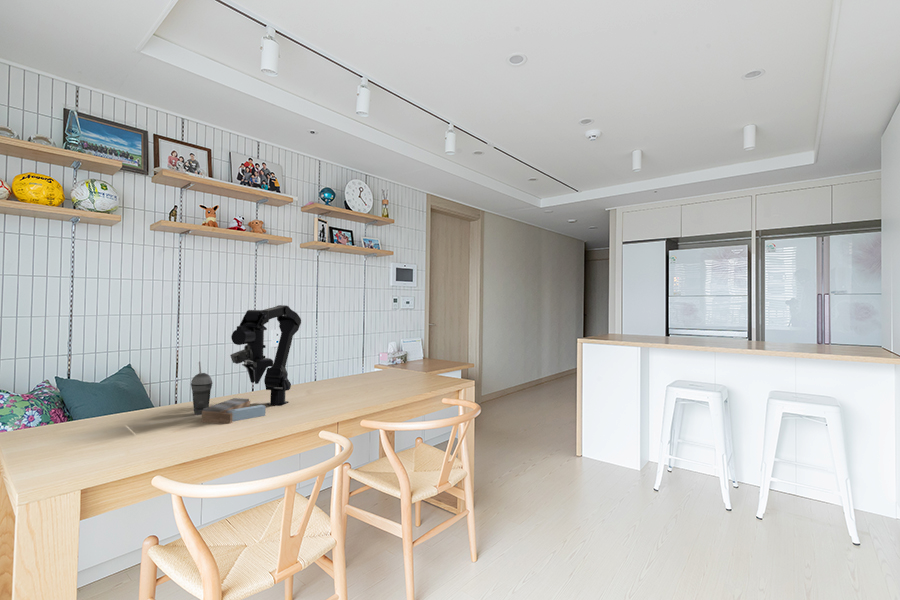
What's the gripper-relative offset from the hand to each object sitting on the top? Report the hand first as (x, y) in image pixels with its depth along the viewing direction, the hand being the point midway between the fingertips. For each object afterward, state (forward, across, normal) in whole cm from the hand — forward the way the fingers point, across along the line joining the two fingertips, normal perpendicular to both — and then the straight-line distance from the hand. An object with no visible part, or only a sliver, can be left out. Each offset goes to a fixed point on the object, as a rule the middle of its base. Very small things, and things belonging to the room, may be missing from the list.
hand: (254, 383), depth 164 cm
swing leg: (+12, +4, -5) cm, 13 cm away
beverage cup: (+12, -14, -14) cm, 23 cm away
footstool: (+12, -2, -7) cm, 14 cm away
